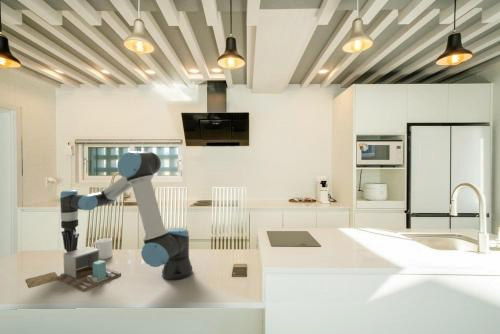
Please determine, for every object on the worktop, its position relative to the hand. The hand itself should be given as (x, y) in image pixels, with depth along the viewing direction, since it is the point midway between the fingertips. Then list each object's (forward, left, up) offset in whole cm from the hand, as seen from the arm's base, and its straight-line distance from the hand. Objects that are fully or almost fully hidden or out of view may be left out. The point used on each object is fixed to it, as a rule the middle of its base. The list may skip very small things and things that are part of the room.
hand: (70, 263), depth 142 cm
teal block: (-26, 0, -2) cm, 26 cm away
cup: (+4, -19, -4) cm, 20 cm away
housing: (-11, 0, -2) cm, 11 cm away
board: (-17, 0, -3) cm, 18 cm away
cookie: (0, +13, -4) cm, 14 cm away
